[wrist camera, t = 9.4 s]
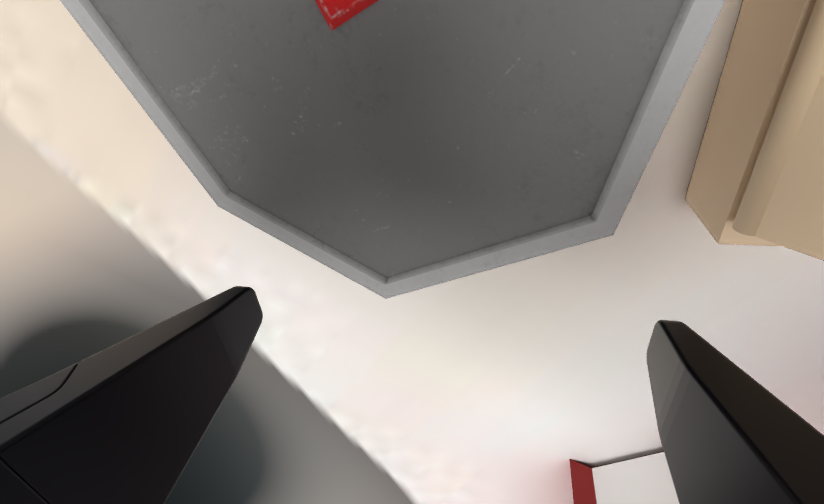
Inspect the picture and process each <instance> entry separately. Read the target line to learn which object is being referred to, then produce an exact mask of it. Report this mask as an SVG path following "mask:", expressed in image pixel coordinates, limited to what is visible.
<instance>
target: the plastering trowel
mask: <svg viewBox="0 0 824 504" xmlns="http://www.w3.org/2000/svg"><path fill="white" fill-rule="evenodd" d="M732 228H733V229H734V230H735V231H736V232H738V233H741V234H744V235H748V236H755V237H758V238H761V239H764V240H767V241H769V242H772V243H775V244H778V245H781V246H784V247H787V248H789V249H792V250H795V251H798V252H801V253H804V254H806V255H809V256H812V257H815V258H818V259H821V260H823V261H824V0H817V1H816V3H815V6H814V9H813V11H812V14H811V17H810V19H809V22H808V25H807V27H806V30H805V33H804V35H803V38H802V41H801V43H800V46H799V49H798V51H797V54H796V57H795V59H794V62H793V65H792V67H791V70H790V73H789V75H788V78H787V81H786V83H785V86H784V89H783V91H782V94H781V97H780V99H779V102H778V105H777V107H776V110H775V113H774V115H773V118H772V121H771V123H770V126H769V129H768V131H767V134H766V137H765V139H764V142H763V145H762V148H761V150H760V153H759V156H758V158H757V161H756V164H755V166H754V169H753V172H752V174H751V177H750V180H749V182H748V185H747V188H746V190H745V193H744V196H743V198H742V201H741V204H740V206H739V209H738V212H737V214H736V217H735V220H734V222H733V225H732Z"/></svg>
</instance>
